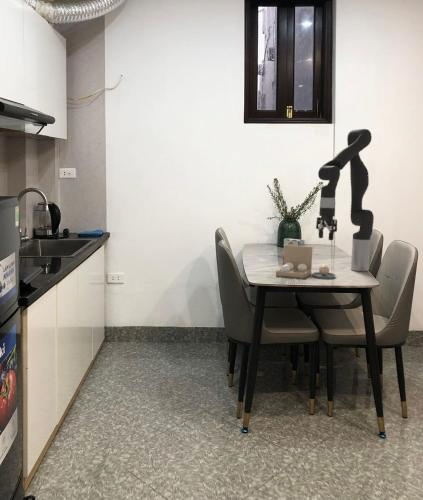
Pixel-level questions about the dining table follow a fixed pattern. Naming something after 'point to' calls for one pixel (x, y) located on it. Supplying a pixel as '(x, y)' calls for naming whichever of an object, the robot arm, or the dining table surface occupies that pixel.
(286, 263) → the white egg
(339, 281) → the dining table surface
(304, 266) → the white egg
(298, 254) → the egg carton
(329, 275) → the slate saucer
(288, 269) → the white egg
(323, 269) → the brown egg
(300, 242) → the candy bar box
